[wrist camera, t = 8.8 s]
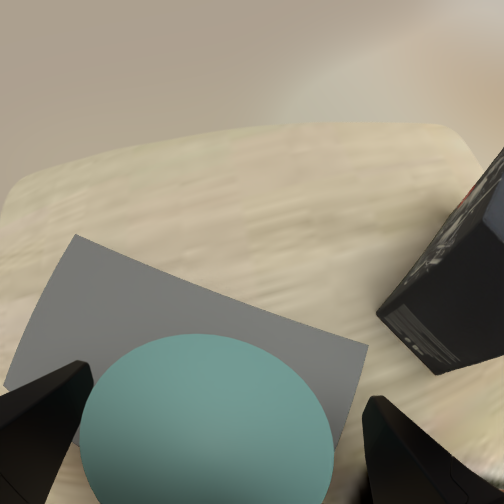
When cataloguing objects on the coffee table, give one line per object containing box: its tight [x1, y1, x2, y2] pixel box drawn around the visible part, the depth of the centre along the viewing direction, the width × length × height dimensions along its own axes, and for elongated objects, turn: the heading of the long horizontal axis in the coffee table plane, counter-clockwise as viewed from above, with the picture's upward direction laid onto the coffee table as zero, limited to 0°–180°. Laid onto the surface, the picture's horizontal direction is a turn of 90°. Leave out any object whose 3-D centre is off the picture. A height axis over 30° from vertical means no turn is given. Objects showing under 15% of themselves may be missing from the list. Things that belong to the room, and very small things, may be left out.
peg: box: [79, 334, 334, 504], centre depth 10 cm, size 4×4×14 cm
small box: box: [376, 148, 504, 375], centre depth 15 cm, size 13×7×12 cm, turn 132°
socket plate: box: [3, 234, 369, 452], centre depth 16 cm, size 12×20×2 cm, turn 69°
